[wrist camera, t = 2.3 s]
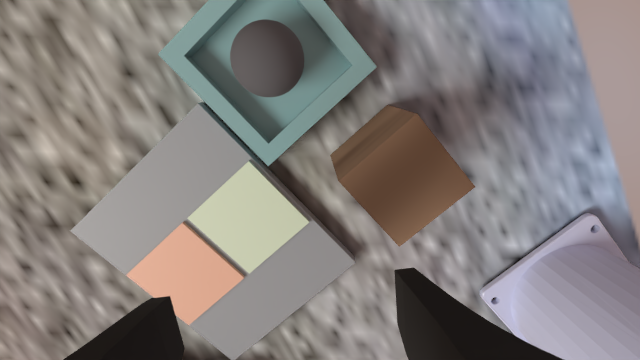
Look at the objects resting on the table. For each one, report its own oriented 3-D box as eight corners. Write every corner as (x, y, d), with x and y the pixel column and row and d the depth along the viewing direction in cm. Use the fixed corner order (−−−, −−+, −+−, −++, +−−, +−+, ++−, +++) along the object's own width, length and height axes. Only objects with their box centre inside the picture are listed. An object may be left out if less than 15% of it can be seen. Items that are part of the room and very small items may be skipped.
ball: (318, 64, 16) (320, 60, 13) (270, 109, 17) (263, 115, 14) (272, 10, 16) (263, -8, 13) (223, 59, 16) (204, 53, 13)
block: (432, 159, 19) (475, 186, 14) (376, 205, 19) (399, 246, 15) (387, 104, 18) (416, 113, 13) (330, 155, 18) (338, 180, 14)
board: (353, 255, 20) (356, 264, 19) (235, 351, 22) (232, 363, 21) (202, 102, 17) (196, 103, 16) (79, 225, 19) (67, 232, 18)
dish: (370, 68, 17) (377, 66, 16) (271, 159, 18) (268, 166, 17) (274, -52, 15) (270, -66, 14) (171, 56, 17) (158, 54, 15)
